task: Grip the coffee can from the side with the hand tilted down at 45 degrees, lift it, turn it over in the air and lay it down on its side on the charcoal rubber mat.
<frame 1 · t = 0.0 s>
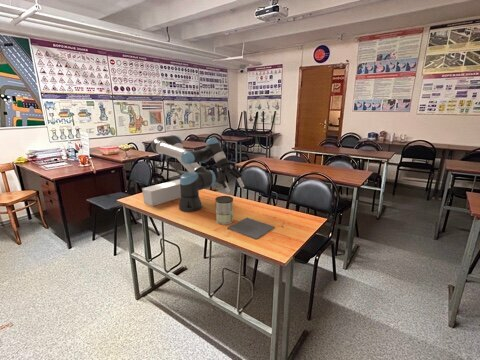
hand: (236, 189, 166), 15 cm above the table, tool tilted 35°, fingers open, 13 cm apart
rubber mat: (251, 228, 148), on the table
long grey foam block: (167, 199, 195), on the table
coffee can: (224, 221, 157), on the table
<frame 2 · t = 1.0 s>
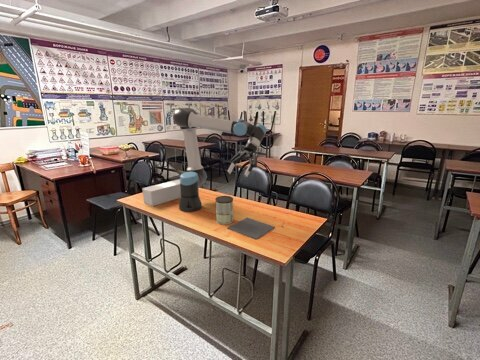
hand: (236, 174, 159), 26 cm above the table, tool tilted 45°, fingers open, 13 cm apart
nothing on the table moved.
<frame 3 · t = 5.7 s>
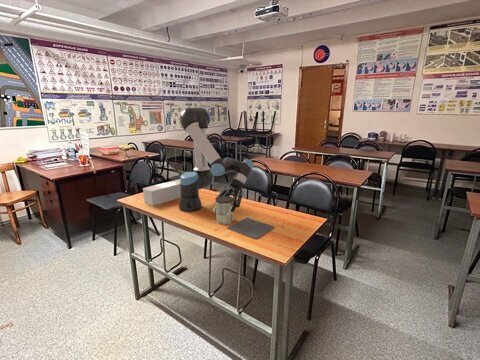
hand: (220, 213, 153), 6 cm above the table, tool tilted 45°, fingers closed on coffee can, 10 cm apart
coffee can: (224, 221, 157), on the table, touching gripper
everything else where it was.
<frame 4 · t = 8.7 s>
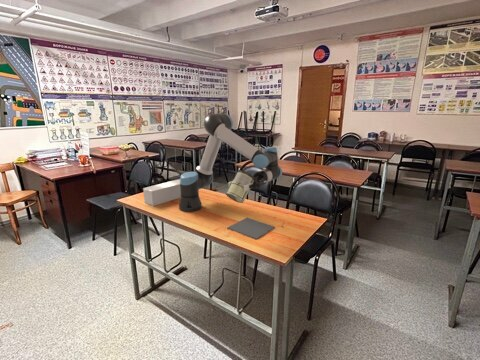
hand: (236, 186, 136), 26 cm above the table, tool horizontal, fingers closed on coffee can, 10 cm apart
coffee can: (234, 198, 136), point 20 cm above the table, touching gripper
everything else where it was.
when the fingers open (11 cm above the table, at t = 11.9 s): coffee can moves 4 cm, resting on hand, rubber mat.
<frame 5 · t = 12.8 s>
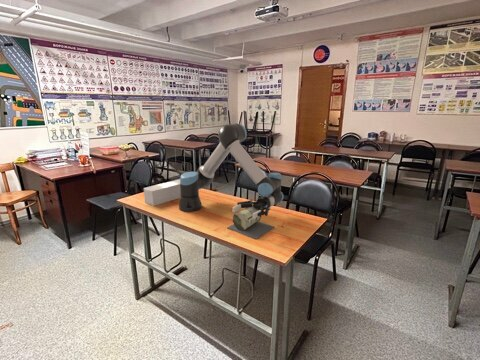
hand: (242, 213, 139), 12 cm above the table, tool horizontal, fingers open, 13 cm apart
coffee can: (239, 221, 143), point 6 cm above the table, touching hand, rubber mat
everything else where it was.
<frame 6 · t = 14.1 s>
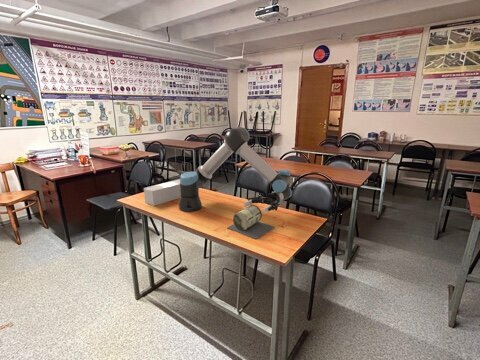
hand: (253, 207, 146), 12 cm above the table, tool horizontal, fingers open, 13 cm apart
coffee can: (240, 221, 142), point 6 cm above the table, touching rubber mat
everything else where it was.
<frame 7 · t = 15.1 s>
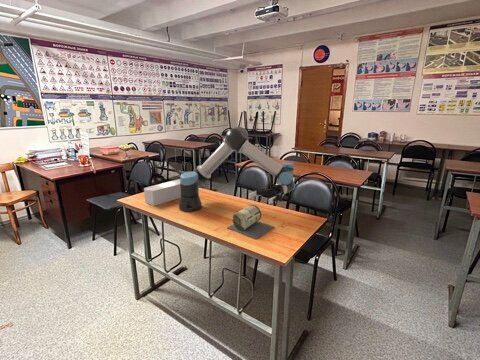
hand: (258, 198, 148), 16 cm above the table, tool horizontal, fingers open, 13 cm apart
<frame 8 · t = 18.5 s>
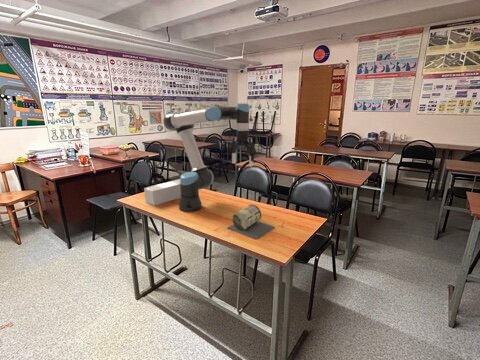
hand: (242, 164, 164), 31 cm above the table, tool pointing down, fingers open, 13 cm apart
at the end: coffee can tilted 90°; coffee can inside the target area (6.7 cm from its centre), point 5.7 cm above the table; the gripper is holding nothing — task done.
